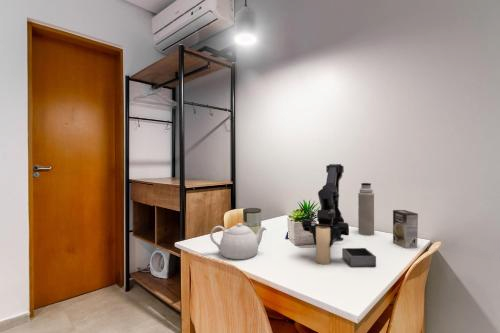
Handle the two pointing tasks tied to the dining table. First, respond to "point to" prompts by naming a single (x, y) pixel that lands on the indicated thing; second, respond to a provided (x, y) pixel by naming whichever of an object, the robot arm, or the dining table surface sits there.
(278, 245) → the dining table surface
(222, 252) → the teapot
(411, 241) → the coffee box
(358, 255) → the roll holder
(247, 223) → the coffee can
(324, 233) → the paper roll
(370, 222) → the thermos bottle
